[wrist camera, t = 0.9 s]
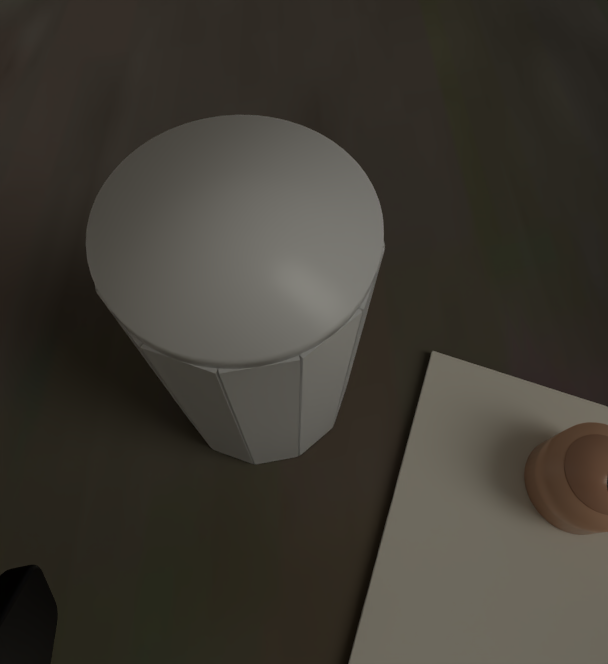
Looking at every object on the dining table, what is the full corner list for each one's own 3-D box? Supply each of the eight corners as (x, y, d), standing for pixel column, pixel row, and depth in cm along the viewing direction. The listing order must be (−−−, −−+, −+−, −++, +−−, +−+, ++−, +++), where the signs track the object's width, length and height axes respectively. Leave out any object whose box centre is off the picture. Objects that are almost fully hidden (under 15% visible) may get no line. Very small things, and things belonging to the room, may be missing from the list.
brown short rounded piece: (615, 549, 21) (656, 547, 18) (516, 514, 21) (544, 506, 19) (624, 455, 22) (662, 442, 20) (531, 424, 23) (559, 407, 20)
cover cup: (313, 486, 22) (330, 404, 11) (156, 428, 23) (26, 300, 12) (363, 337, 25) (415, 155, 14) (222, 292, 26) (166, 88, 15)
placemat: (810, 958, 16) (819, 965, 16) (325, 748, 18) (325, 751, 18) (787, 467, 22) (792, 466, 22) (430, 353, 24) (432, 350, 24)
